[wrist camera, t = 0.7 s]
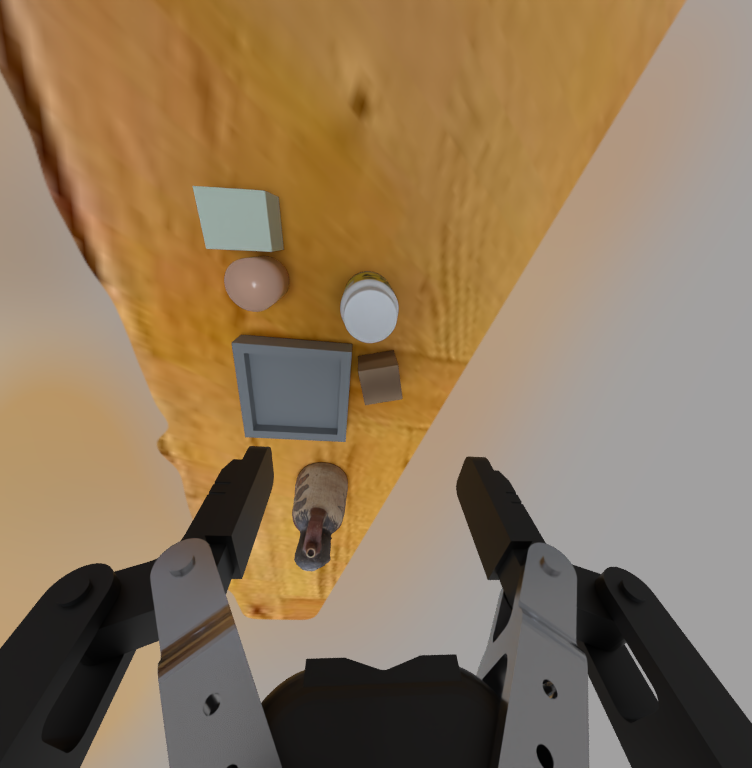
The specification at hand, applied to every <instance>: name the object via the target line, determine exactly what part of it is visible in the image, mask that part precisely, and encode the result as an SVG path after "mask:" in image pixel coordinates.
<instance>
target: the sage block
mask: <svg viewBox="0 0 752 768" xmlns="http://www.w3.org/2000/svg"><path fill="white" fill-rule="evenodd" d="M193 190H194V195H195V199H196V204H197V208H198V213H199V218H200V222H201V227H202V231H203V236H204V241H205V245H206V249H225V250H245V251H265V252H274V251H279V250H284V247H283V237H282V227H281V217H280V206H279V197H277V196H275V195H273V194H271V193H269V192H267V191H262V190H247V189H232V188H216V187H201V186H193Z"/></svg>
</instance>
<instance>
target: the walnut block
mask: <svg viewBox="0 0 752 768" xmlns="http://www.w3.org/2000/svg"><path fill="white" fill-rule="evenodd" d="M358 373H359V378H360V383H361V388H362V393H363V397H364V402H365V405H369V404H375V403H381V402H387V401H394V400H400V399H402V391H401V383H400V375H399V368H398V363H397V359H396V356H395V353H394V350H393V351H386V352H380V353H374V354H368V355H362V356H358Z"/></svg>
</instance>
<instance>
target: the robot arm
mask: <svg viewBox="0 0 752 768" xmlns="http://www.w3.org/2000/svg"><path fill="white" fill-rule="evenodd" d="M273 480H274V472H273V462H272V452H271V448H270V447H258V446H250V447H249V448H248V449H247V451H246V453H245V455H244V457H243V459H242V460H238V459H233V460H232V461H231V462H230V463H229V464H228V465H226V466H225V467H224V468H223V469H222V470H221V472H220V474H219V475H218V477H217V479H216V481H215V484H213V486H212V488H211V490H210V491H209V495H207V497H206V498H205V500H204V502H203V504H202V505H201V507H200V509H199V511H198V513H197V514H196V516H195V518H194V520H193V521H192V523H191V525H190V527H189V528H188V530H187V532H186V534H185V535H184V537H183V538H182V540H181V541H180V542H178V543H176V544H174V545H172V546H171V547H170V548H168V549H167V550H166V551H164V552H163V553H162V555H160V557H159V558H157V559H155V560H153V561H150V562H147V563H143V564H140V565H136V566H133V567H129V568H126V569H122V570H119V571H115V572H114V571H113V570H112V569H111V567H110V566H108V565H106V564H101V563H100V564H99V563H96V564H90V565H86V566H83V567H81V568H78V569H76V570H74V571H72V572H70V573H69V574H67V575H65V576H64V577H63V578H61V579H59V580H58V581H57V582H56V583H55V584H53V585H52V586H51V587H50V588H49V589H48V590H47V591H46V592H45V594H44V595H43V596H42V597H41V598H40V600H39V601H38V602H37V603H36V604H35V606H34V607H33V608H32V610H31V611H30V612H29V613H28V615H27V616H26V617H25V618H24V620H23V621H22V622H21V623H20V625H19V626H18V627H17V629H15V631H14V632H13V633H12V635H11V636H10V637H9V638H8V640H7V641H6V642H5V643H4V645H3V646H2V647H1V648H0V768H80V766H81V764H82V762H83V760H84V758H85V756H86V754H87V752H88V750H89V747H90V745H91V743H92V741H93V739H94V737H95V735H96V733H97V731H98V729H99V727H100V724H101V722H102V720H103V718H104V716H105V714H106V712H107V710H108V708H109V706H110V703H111V702H112V699H113V697H114V695H115V693H116V691H117V689H118V687H119V685H120V683H121V681H122V678H123V676H124V674H125V672H126V670H127V668H128V666H129V664H130V662H131V660H132V657H133V655H134V653H135V651H136V649H138V648H141V647H143V646H146V645H149V644H151V643H154V642H157V641H159V643H160V651H161V660H160V661H159V663H158V681H159V689H160V697H161V705H162V712H163V720H164V728H165V735H166V743H167V751H168V758H169V766H170V768H589V731H588V729H589V724H588V675H589V678H590V680H591V682H592V684H593V686H594V688H595V690H596V692H597V694H598V697H599V699H600V701H601V703H602V705H603V707H604V709H605V711H606V714H607V716H608V718H609V720H610V722H611V724H612V726H613V729H614V731H615V733H616V735H617V737H618V739H619V741H620V743H621V746H622V748H623V750H624V752H625V754H626V756H627V758H628V761H629V763H630V765H631V767H632V768H752V723H751V722H750V721H749V719H748V718H747V717H746V715H745V714H744V713H743V711H742V710H741V709H740V707H739V706H738V705H737V703H736V702H735V701H734V699H733V698H732V697H731V695H729V693H728V691H727V690H726V689H725V687H724V686H723V685H722V683H721V682H720V681H719V680H718V678H717V677H716V676H715V674H714V673H713V672H712V670H711V669H710V668H709V666H708V665H707V664H706V662H705V661H704V660H703V658H702V657H701V656H700V654H699V653H698V652H697V650H696V649H695V648H694V646H693V645H692V644H691V642H690V641H689V640H688V639H687V637H686V636H685V634H684V633H683V632H682V630H681V629H680V628H679V626H678V625H677V624H676V622H675V621H674V620H673V618H672V617H671V616H670V614H669V613H668V612H667V611H666V609H665V608H664V607H663V605H662V604H661V602H660V601H659V600H658V599H657V597H656V596H655V595H654V593H653V592H652V591H651V590H650V589H649V587H648V586H647V585H646V584H645V583H644V582H642V581H641V580H640V579H639V578H637V577H636V576H635V575H633V574H631V573H630V572H628V571H626V570H624V569H621V568H618V567H609V568H607V569H606V570H605V571H604V572H603V573H602V574H598V573H596V572H593V571H590V570H587V569H584V568H581V567H578V566H575V565H572V564H571V562H570V561H569V560H568V559H567V558H566V556H565V555H563V554H562V553H561V552H560V551H559V550H557V549H556V548H554V547H552V546H550V545H548V544H546V543H545V541H544V539H543V538H542V536H541V534H540V533H539V531H538V529H537V528H536V526H535V524H534V523H533V521H532V519H531V517H530V516H529V514H528V512H527V511H526V509H525V507H524V505H523V504H521V500H520V499H519V497H518V495H516V492H515V490H514V488H513V487H512V485H511V483H510V482H509V480H507V478H505V477H504V476H503V475H502V474H501V473H500V472H499V471H494V470H493V468H492V466H491V464H490V462H489V461H488V459H487V458H485V457H466V459H465V461H464V464H463V466H462V469H461V472H460V474H459V477H458V480H457V485H456V490H457V496H458V499H459V502H460V504H461V507H462V510H463V512H464V515H465V518H466V521H467V523H468V526H469V529H470V532H471V534H472V537H473V540H474V543H475V545H476V548H477V551H478V554H479V556H480V559H481V562H482V565H483V568H484V570H485V573H486V576H487V579H488V580H500V582H501V585H502V587H503V588H502V590H501V592H500V595H499V599H498V604H497V608H496V612H495V616H494V620H493V625H492V628H491V633H490V637H489V641H488V645H487V648H486V651H485V653H484V655H483V658H482V660H481V662H480V666H479V668H478V672H477V675H476V676H475V675H474V674H472V673H471V672H469V671H467V670H465V669H463V668H461V667H459V665H458V661H457V656H456V655H422V656H418V657H416V658H414V659H412V660H409V661H407V662H404V663H402V664H400V665H397V666H395V667H392V668H390V669H387V670H379V669H377V668H373V667H371V666H368V665H365V664H362V663H359V662H356V661H353V660H350V659H347V658H320V659H306V666H305V670H304V671H301V672H299V673H297V674H295V675H293V676H291V677H290V678H288V679H286V680H285V681H284V682H282V683H281V684H280V685H278V686H277V687H276V688H275V689H274V690H273V691H272V692H271V693H270V694H269V695H268V696H267V697H266V698H265V699H264V700H263V702H262V703H261V702H260V698H259V696H258V692H257V689H256V686H255V683H254V680H253V677H252V674H251V671H250V668H249V665H248V662H247V659H246V656H245V652H244V649H243V646H242V643H241V640H240V637H239V634H238V631H237V628H236V625H235V622H234V619H233V616H232V613H231V610H230V607H229V604H228V600H227V597H226V593H227V590H228V587H229V584H230V582H231V579H242V577H243V574H244V571H245V568H246V565H247V562H248V559H249V556H250V553H251V550H252V547H253V544H254V541H255V538H256V535H257V532H258V529H259V526H260V523H261V520H262V517H263V514H264V511H265V508H266V505H267V502H268V499H269V496H270V493H271V490H272V486H273ZM625 643H627V644H628V646H629V647H630V649H631V650H632V652H633V654H634V656H635V657H636V659H637V661H638V662H639V664H640V665H641V667H642V669H643V671H644V672H645V674H646V676H647V677H648V679H649V681H650V682H651V684H652V686H653V688H654V689H655V692H656V694H657V697H658V701H657V699H656V698H655V696H654V694H653V692H652V690H651V689H650V687H649V685H648V684H647V682H646V680H645V679H644V677H643V675H642V673H641V672H640V670H639V668H638V667H637V665H636V663H635V662H634V660H633V658H632V656H631V655H630V653H629V651H628V650H627V648H626V646H625V645H624V644H625Z"/></svg>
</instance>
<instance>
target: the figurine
mask: <svg viewBox="0 0 752 768" xmlns="http://www.w3.org/2000/svg"><path fill="white" fill-rule="evenodd" d="M347 490H348V481H347V477H346V475H345V473H344V472H343V471H342V470H341V469H340V468H339V467H337V466H336V465H333V464H330V463H314V464H311V465H308V466H306V467H304V468H303V470H302V471H301V472H300V474H299V475H298V477H297V481H296V485H295V497H294V506H293V511H292V516H293V522H294V524H295V526H296V527H297V529H298V530H299V531H300V533H301V534H300V539H299V543H298V546H297V549H296V553H295V559H294V560H295V562H296V564H297V565H298V566H299V567H300V568H301V569H303V570H305V571H315V570H317V569H318V568H321V567H322V566H324V565H325V564H326V563H328V562H329V561H330V548H331V541H330V540H331V539H332V538H331V534H332V533H334V532H335V531H336V530H337V529H338V528H339V527H340V526H341V523H342V520H343V517H344V513H345V505H346V497H347Z"/></svg>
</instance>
